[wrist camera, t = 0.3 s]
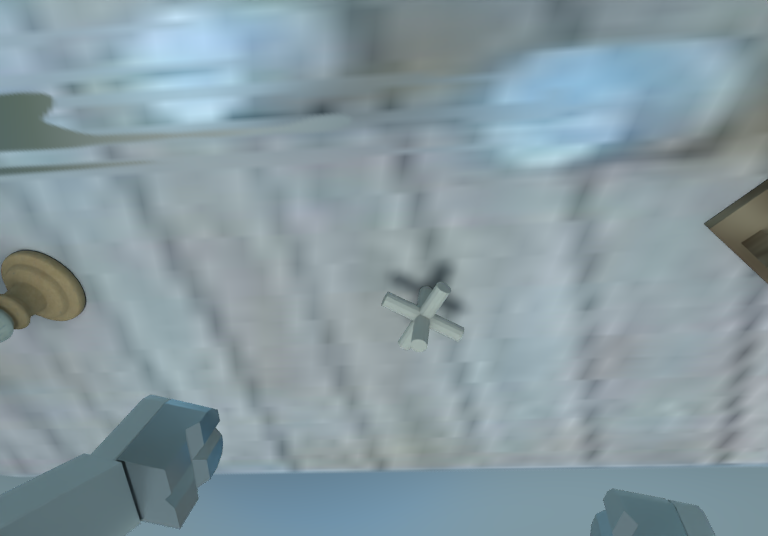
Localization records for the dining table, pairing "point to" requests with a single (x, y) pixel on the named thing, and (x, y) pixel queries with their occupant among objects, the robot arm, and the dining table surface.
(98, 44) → the dining table surface
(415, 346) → the pipe connector
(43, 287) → the candle holder
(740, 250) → the pipe stand
